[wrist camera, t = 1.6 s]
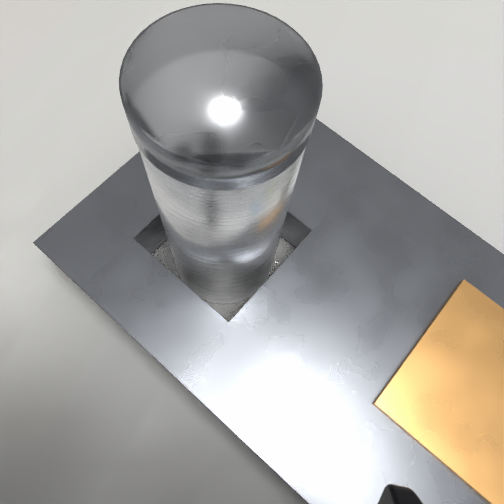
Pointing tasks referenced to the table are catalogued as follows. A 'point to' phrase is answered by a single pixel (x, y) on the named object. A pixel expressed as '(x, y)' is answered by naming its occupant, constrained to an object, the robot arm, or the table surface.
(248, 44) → the steel plug
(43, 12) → the table surface
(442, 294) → the plate
